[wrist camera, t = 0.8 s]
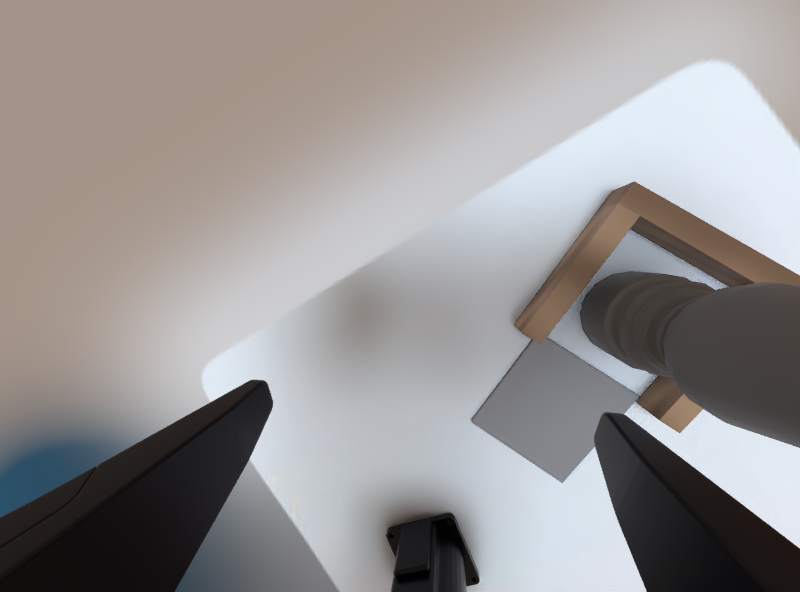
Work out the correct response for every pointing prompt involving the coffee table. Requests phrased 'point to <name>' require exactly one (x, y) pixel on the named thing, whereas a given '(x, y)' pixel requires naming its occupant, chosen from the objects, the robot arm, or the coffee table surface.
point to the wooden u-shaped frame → (673, 234)
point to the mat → (551, 407)
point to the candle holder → (708, 343)
